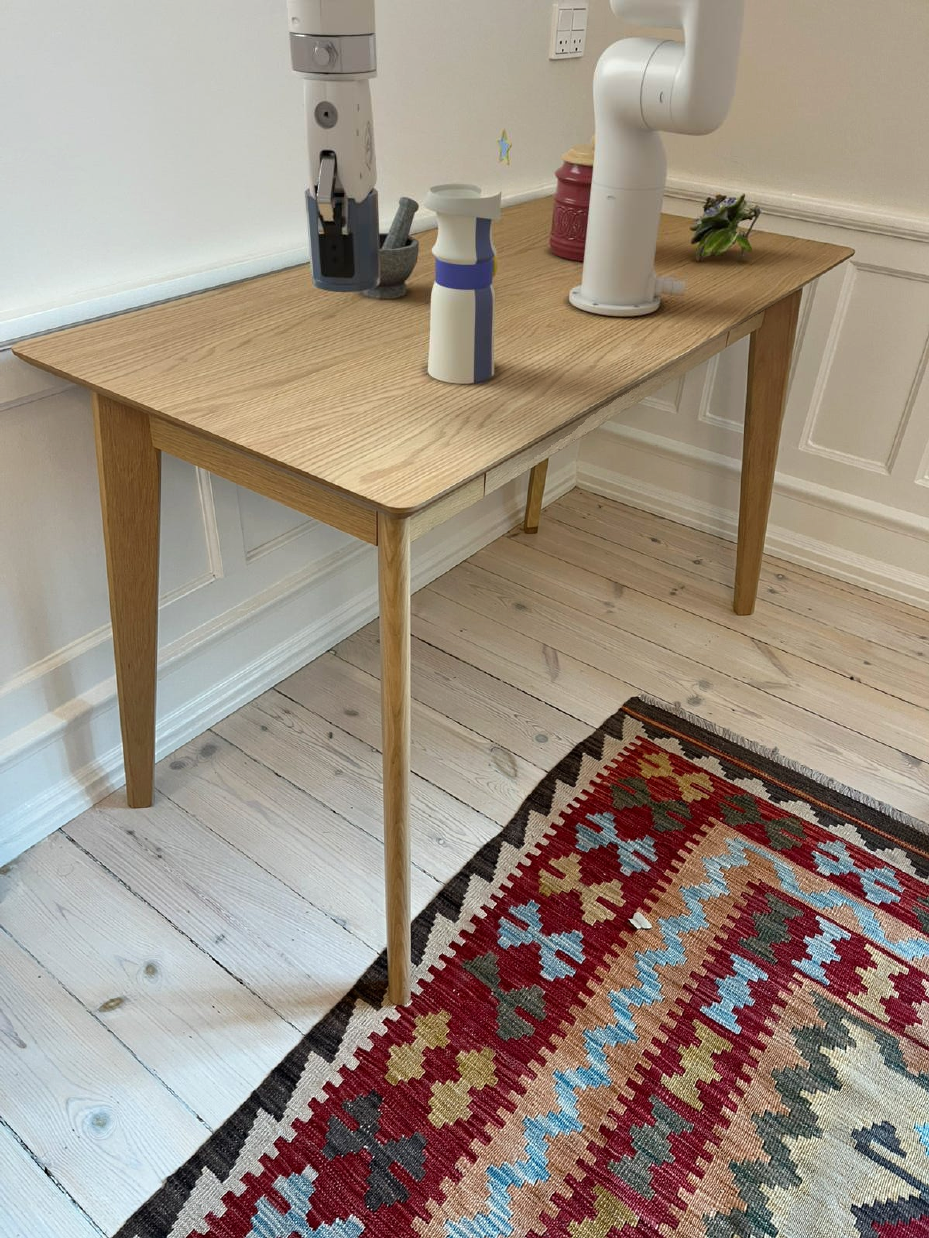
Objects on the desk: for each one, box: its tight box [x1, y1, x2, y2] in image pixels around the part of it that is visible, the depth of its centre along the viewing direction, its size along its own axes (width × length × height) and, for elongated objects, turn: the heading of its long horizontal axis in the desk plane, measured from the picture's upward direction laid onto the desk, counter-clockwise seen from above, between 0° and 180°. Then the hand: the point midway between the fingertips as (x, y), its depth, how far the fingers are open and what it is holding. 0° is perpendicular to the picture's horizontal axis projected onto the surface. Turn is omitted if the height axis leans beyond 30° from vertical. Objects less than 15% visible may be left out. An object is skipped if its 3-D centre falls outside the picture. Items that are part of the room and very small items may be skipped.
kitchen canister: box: [548, 133, 595, 262], centre depth 147 cm, size 13×13×18 cm
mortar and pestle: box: [361, 196, 420, 300], centre depth 128 cm, size 11×9×12 cm
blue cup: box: [304, 187, 381, 293], centre depth 91 cm, size 7×7×8 cm
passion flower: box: [689, 192, 762, 262], centre depth 150 cm, size 11×11×12 cm
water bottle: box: [422, 128, 513, 385], centre depth 100 cm, size 8×9×25 cm
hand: (345, 264), depth 92 cm, fingers closed on blue cup, 6 cm apart
